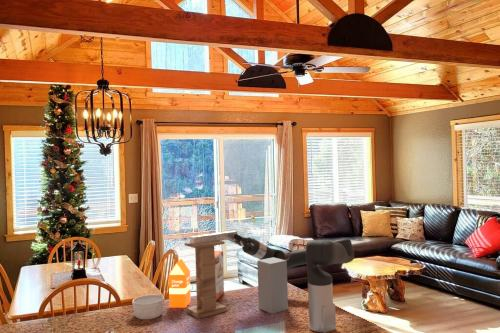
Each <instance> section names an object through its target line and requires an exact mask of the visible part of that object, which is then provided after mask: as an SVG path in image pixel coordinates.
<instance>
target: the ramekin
mask: <svg viewBox="0 0 500 333" xmlns="http://www.w3.org/2000/svg"><path fill="white" fill-rule="evenodd" d="M164 302H165V297H164V296H163V295H161V294H144V295H140V296H137V297H134V298H133V299H132V302H131V304H132V308H133V314H134V316H135V318H136V319H138V320H139V319H140V320H151V319H155V318H158V317H160V316H161V315H162V313H163V311H164V310H163V309H164Z"/></svg>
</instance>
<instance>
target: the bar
mask: <svg viewBox="0 0 500 333" xmlns="http://www.w3.org/2000/svg"><path fill="white" fill-rule="evenodd" d="M234 234H238V231H237V230H229V231H228V230H227V231H220V232H214V233H206V234H198V235H191V236H189V242H190V244H194V245H195V244H202V243H208V242H215V241H229V240H228V239H234V238H233V236H234Z"/></svg>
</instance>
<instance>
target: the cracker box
mask: <svg viewBox="0 0 500 333" xmlns="http://www.w3.org/2000/svg"><path fill="white" fill-rule="evenodd" d="M214 254H215V286H216V302H217V300H219V298H221V297H222V296H223V294H224V293H225V282H224V281H225V280H224V279H225V278H224V251H223V250H214Z"/></svg>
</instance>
